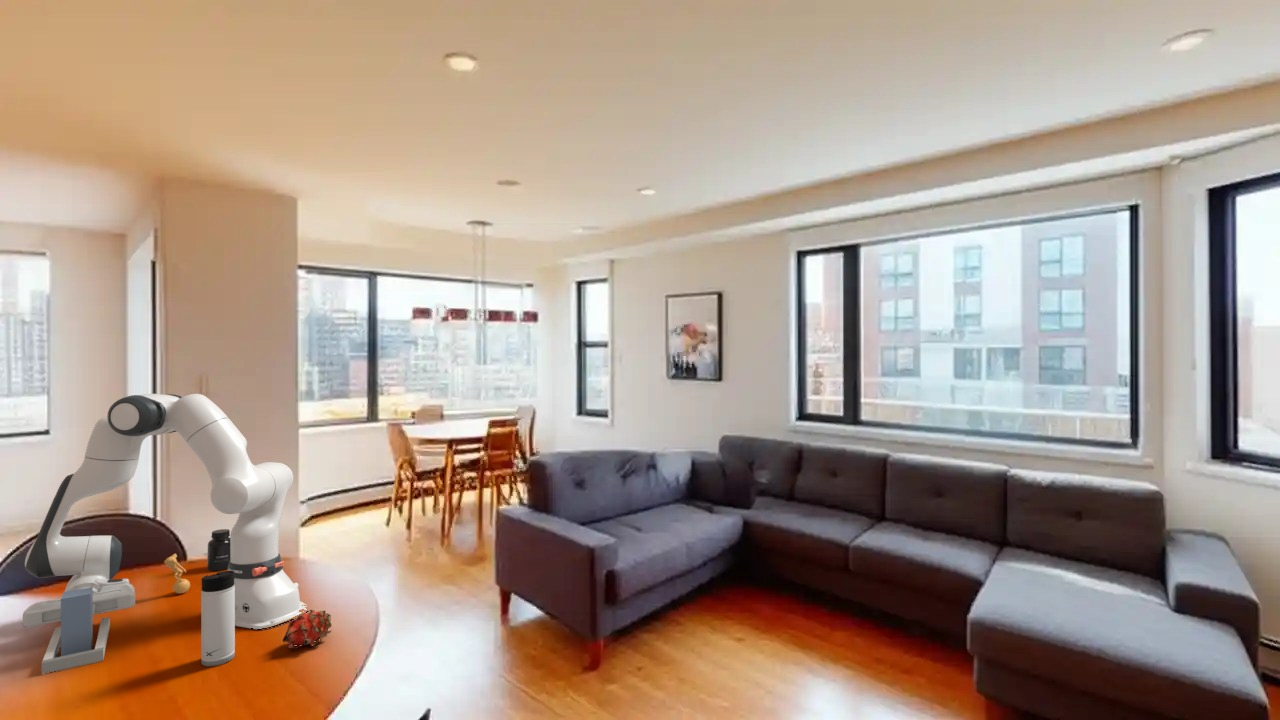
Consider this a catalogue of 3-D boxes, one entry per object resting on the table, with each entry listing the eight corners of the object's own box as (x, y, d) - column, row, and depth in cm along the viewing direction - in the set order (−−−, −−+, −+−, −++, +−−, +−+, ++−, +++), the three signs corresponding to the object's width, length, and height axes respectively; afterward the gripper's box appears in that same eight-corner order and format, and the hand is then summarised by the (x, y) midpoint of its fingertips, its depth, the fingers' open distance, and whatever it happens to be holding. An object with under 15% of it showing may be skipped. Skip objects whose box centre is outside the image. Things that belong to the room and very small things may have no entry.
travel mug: (210, 670, 135) (209, 579, 135) (196, 661, 138) (196, 573, 138) (240, 658, 140) (240, 571, 140) (226, 650, 144) (226, 565, 143)
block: (63, 652, 142) (63, 592, 142) (92, 645, 145) (92, 587, 145) (61, 660, 138) (60, 599, 138) (90, 654, 142) (90, 593, 141)
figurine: (198, 593, 177) (197, 551, 177) (175, 600, 172) (175, 558, 172) (180, 588, 181) (180, 547, 181) (157, 595, 175) (157, 554, 175)
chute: (55, 637, 149) (55, 627, 149) (109, 626, 156) (109, 616, 156) (41, 674, 132) (41, 663, 132) (103, 660, 139) (103, 649, 139)
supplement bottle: (219, 572, 194) (219, 534, 194) (201, 570, 195) (201, 533, 195) (238, 565, 200) (238, 528, 200) (220, 563, 202) (220, 527, 202)
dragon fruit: (336, 640, 152) (288, 668, 142) (317, 615, 155) (268, 641, 145) (344, 619, 149) (296, 647, 139) (325, 594, 152) (275, 619, 141)
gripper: (26, 595, 148) (15, 615, 137) (136, 577, 161) (134, 593, 150) (27, 621, 148) (16, 643, 138) (136, 600, 161) (134, 619, 150)
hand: (78, 617), depth 144 cm, fingers closed, pressing on block
